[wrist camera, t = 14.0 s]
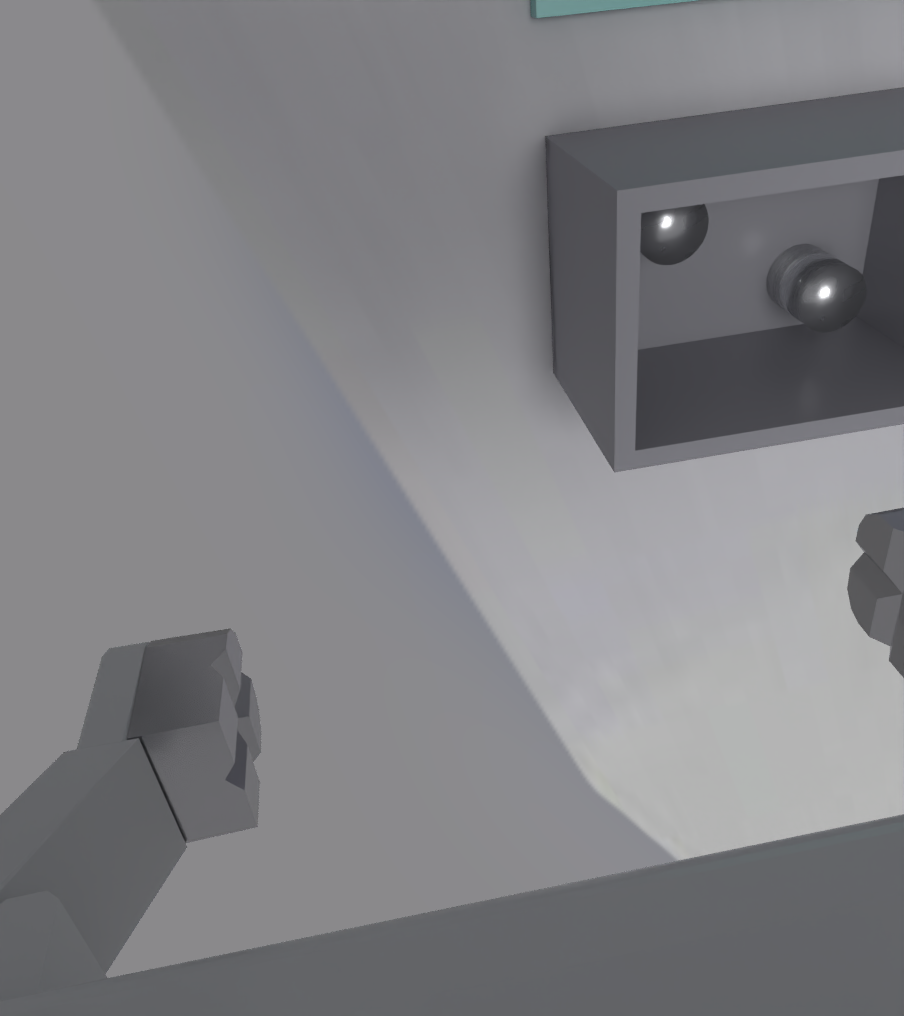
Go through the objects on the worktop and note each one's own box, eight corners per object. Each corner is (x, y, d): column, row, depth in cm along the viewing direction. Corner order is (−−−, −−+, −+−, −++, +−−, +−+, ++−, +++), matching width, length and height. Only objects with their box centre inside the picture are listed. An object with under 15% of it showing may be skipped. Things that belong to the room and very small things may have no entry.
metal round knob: (769, 248, 48) (805, 271, 44) (831, 239, 48) (872, 261, 45) (762, 310, 50) (796, 337, 46) (822, 301, 50) (860, 327, 47)
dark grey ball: (612, 176, 44) (638, 195, 41) (679, 167, 44) (711, 185, 41) (611, 246, 46) (636, 270, 43) (676, 237, 46) (706, 259, 43)
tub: (545, 136, 43) (617, 190, 34) (903, 87, 45) (1068, 126, 35) (553, 372, 51) (614, 472, 41) (861, 324, 52) (988, 409, 43)
